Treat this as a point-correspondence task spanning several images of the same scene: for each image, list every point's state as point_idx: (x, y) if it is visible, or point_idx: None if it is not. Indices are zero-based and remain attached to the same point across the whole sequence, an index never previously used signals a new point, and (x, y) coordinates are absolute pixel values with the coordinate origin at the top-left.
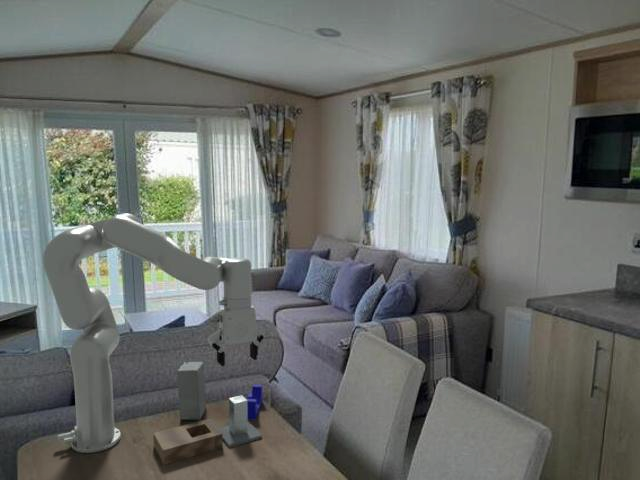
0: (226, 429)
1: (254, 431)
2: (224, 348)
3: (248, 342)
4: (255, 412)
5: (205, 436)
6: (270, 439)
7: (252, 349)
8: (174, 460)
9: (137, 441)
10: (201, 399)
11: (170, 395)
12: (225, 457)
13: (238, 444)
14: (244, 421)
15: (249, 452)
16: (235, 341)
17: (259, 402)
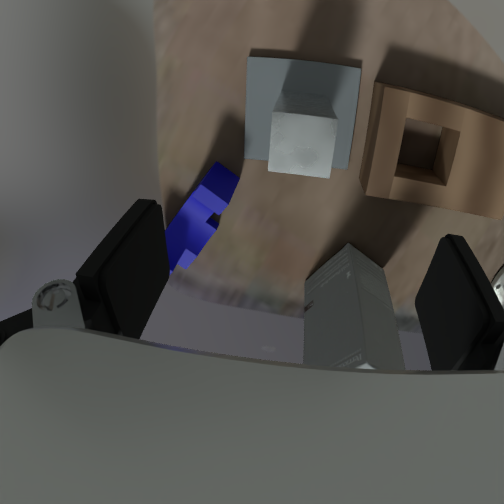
0: None
1: (257, 88)
2: (498, 363)
3: (154, 342)
4: (210, 169)
5: (431, 109)
6: (230, 36)
7: (132, 290)
8: (491, 114)
9: (490, 242)
10: (336, 288)
11: None
12: (390, 34)
13: (329, 63)
14: (290, 97)
15: (320, 11)
16: (456, 425)
17: (174, 220)
